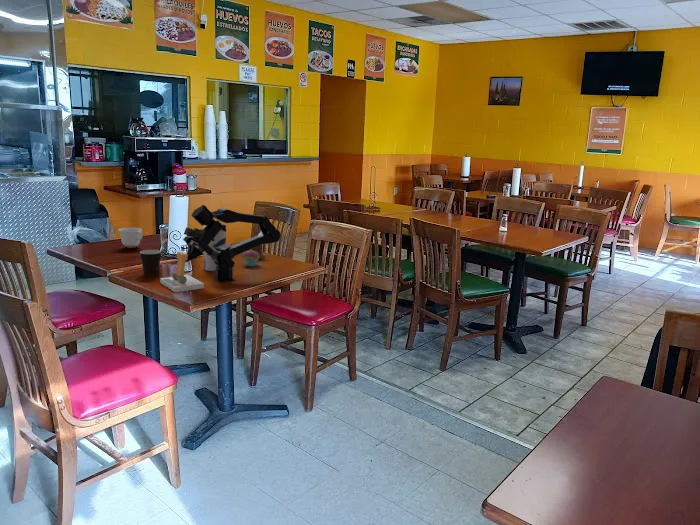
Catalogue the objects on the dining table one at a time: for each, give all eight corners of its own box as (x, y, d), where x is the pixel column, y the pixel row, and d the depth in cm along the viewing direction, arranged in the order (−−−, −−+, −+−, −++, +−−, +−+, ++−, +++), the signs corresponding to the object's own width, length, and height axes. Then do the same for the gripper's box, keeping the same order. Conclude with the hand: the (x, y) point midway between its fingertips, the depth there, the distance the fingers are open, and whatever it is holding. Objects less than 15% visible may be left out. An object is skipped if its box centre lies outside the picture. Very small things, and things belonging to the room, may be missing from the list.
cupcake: (261, 266, 266) (261, 242, 264) (243, 267, 263) (243, 242, 260) (257, 262, 274) (257, 238, 271) (240, 263, 271) (240, 239, 268)
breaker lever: (179, 277, 230) (182, 252, 229) (184, 280, 226) (187, 254, 225) (174, 277, 228) (177, 251, 227) (178, 280, 225) (182, 254, 223)
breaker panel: (188, 279, 238) (187, 268, 237) (203, 288, 226) (203, 276, 225) (160, 283, 231) (160, 271, 230) (174, 292, 219) (174, 280, 218)
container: (218, 272, 252) (218, 228, 248) (199, 269, 255) (198, 226, 251) (230, 267, 261) (229, 225, 257) (211, 265, 265) (211, 223, 260)
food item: (244, 253, 294) (244, 235, 292) (259, 252, 297) (259, 234, 294) (249, 259, 281) (249, 239, 279) (264, 258, 284) (265, 239, 282)
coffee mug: (155, 277, 239) (154, 254, 237) (137, 275, 241) (136, 253, 239) (169, 271, 251) (168, 249, 248) (151, 269, 252) (150, 248, 250)
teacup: (132, 251, 286) (131, 232, 284) (114, 248, 293) (113, 229, 291) (151, 248, 296) (151, 229, 294) (133, 244, 303) (132, 226, 301)
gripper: (186, 216, 234) (162, 245, 230) (205, 223, 220) (179, 253, 215) (205, 233, 240) (181, 261, 236) (224, 241, 226) (199, 270, 222)
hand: (184, 261), depth 227 cm, fingers closed, pressing on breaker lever
